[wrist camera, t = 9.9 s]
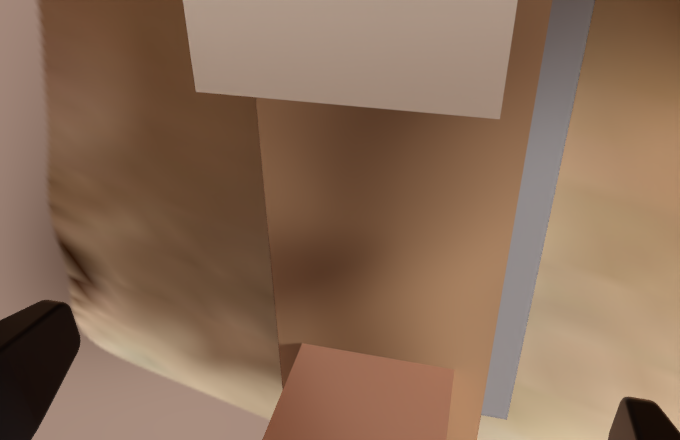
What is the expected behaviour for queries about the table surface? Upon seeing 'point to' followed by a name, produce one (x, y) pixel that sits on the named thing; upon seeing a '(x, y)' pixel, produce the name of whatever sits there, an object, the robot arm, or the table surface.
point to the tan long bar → (399, 224)
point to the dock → (537, 192)
